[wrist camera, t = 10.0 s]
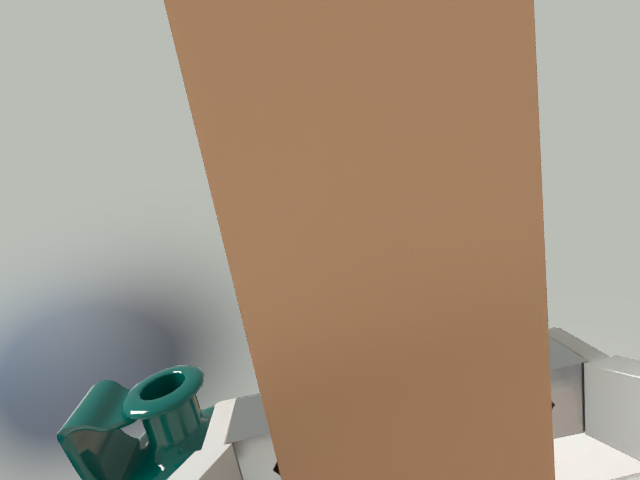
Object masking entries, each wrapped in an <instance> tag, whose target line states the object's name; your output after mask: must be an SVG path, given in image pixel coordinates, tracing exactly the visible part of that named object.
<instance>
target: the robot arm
mask: <svg viewBox="0 0 640 480" xmlns="http://www.w3.org/2000/svg"><path fill="white" fill-rule="evenodd" d="M548 333H549V356H550V378H551V401H552V423H553V439H555V438H560V437H565V436H570V435H574V434H579V433H584V432H585V434H586V435H588V436H590V437H592V438H594V439H596V440H598V441H600V442H602V443H604V444H607V445H609V446H611V447H613V448H615V449H617V450H619V451H621V452H623V453H625V454H627V455H629V456H631V457H633V458H635V459H637V460H639V461H640V361H638V360H634V359H629V358H624V357H620V356H613V357H610V356H608V355H606V354H604V353H602V352H601V351H599V350H597V349H596V348H594V347H592V346H590V345H588V344H587V343H585V342H583V341H581V340H580V339H578V338H576V337H574V336H573V335H571V334H569V333H568V332H566V331H564V330H562V329H560V328H550V329H548ZM167 480H281V476H280V472H279V468H278V463H277V459H276V455H275V451H274V447H273V443H272V439H271V435H270V431H269V427H268V423H267V419H266V415H265V411H264V406H263V402H262V398H261V394H260V393H259V394H254V395H249V396H244V397H239V398H233V399H229V400H225V401H220V402H218V403H217V404H216V405H215V408H214V411H213V415H212V418H211V421H210V424H209V427H208V431H207V434H206V437H205V440H204V443H203V446H202V450H199V451H195V452H194V453H193V454H192V455H191V456H190V457H189V458H188V459H187V460H186V461H185V462H184V463H183V464H182V465H181V466H180V467H179V468H178V469H177V470H176V471H175V472H174V473H173V474H172V475H171V476H170V477H169V478H168V479H167ZM612 480H640V473H636V474H632V475H628V476H624V477H620V478H616V479H612Z"/></svg>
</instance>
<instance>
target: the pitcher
mask: <svg viewBox="0 0 640 480" xmlns="http://www.w3.org/2000/svg"><path fill="white" fill-rule="evenodd" d="M203 381H204V373H203V372H202V371H201V369H200V368H199V367H195V366H191V365H182V366H175V367H171V368H168V369H164V370H162V371H160V372H157V373H155V374H153V375H151V376H149V377H147V378H146V379H144V380H143V381H141V382H140V383H138V384H137V385H136V386H135V387H134V388H133V389H131V390H129V389H126V388H124V387H122V386H121V385H120V384H118V383H116V382H114V381H111V380H104V381H100V382H97V383H95V384H94V385H93V386H92V388H91V389H90V390H89V392H88V393H87V394H86V396H85V397H84V398H83V400H82V401H81V403H80V404H79V405H78V407H77V408H76V409H75V411H74V412H73V413H72V415H71V416H70V417H69V419H68V420H67V421H66V423H65V424H64V425H63V427H62V428H61V430H60V431H59V432H58V433H57V439H58V442H59V443H60V445H61V447H62V448H63V450H64V452H65V453H66V455H67V457H68V458H69V460H70V462H71V463H72V465H73V467H74V468H75V470H76V471H77V473H78V475H79V476H80V478H81V479H82V480H167V479H168V478H169V477H170V476H171V475H172V474H173V473H174V472H175V471H176V470H177V469H178V468H179V467H180V466H181V465H182V464H183V463H184V462H185V461H186V460H187V459H188V458H189V457H190V456H191V455H192V454H193V453H194V452H195V451H199V450H202V446H203V443H204V440H205V437H206V434H207V431H208V427H209V424H210V421H211V418H212V415H213V411H214V408H215V405H213V406H210V407H206V408H203V409H200V406H199V403H198V399H197V396H196V393H197V392H198V390H199V389H200V388H201V386H202V385H203ZM137 420H142V422H143V425H144V428H145V430H146V431H145V432H144V433H143V434H142V435H141V437H140V438H139V439H137V438H133V437H131V436H129V435H127V434H126V433H124V432H123V431H122V430H121V429H120V428H123V427H125V426H128V425H130V424H132V423H134V422H135V421H137Z"/></svg>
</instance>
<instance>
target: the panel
mask: <svg viewBox="0 0 640 480" xmlns="http://www.w3.org/2000/svg"><path fill="white" fill-rule="evenodd" d="M164 3H165V7H166V11H167V15H168V20H169V24H170V28H171V32H172V36H173V40H174V44H175V48H176V52H177V56H178V60H179V64H180V68H181V73H182V76H183V81H184V85H185V88H186V93H187V97H188V101H189V105H190V109H191V113H192V117H193V121H194V125H195V130H196V134H197V137H198V142H199V146H200V150H201V154H202V158H203V162H204V166H205V170H206V174H207V178H208V182H209V186H210V190H211V195H212V199H213V203H214V207H215V211H216V215H217V219H218V223H219V227H220V231H221V235H222V239H223V244H224V247H225V252H226V256H227V260H228V264H229V268H230V272H231V276H232V280H233V284H234V288H235V292H236V296H237V301H238V305H239V309H240V313H241V317H242V321H243V325H244V329H245V333H246V337H247V341H248V345H249V349H250V354H251V357H252V362H253V366H254V370H255V374H256V378H257V382H258V386H259V390H260V394H261V398H262V402H263V406H264V411H265V415H266V419H267V423H268V427H269V431H270V435H271V439H272V443H273V447H274V451H275V455H276V459H277V463H278V468H279V472H280V476H281V480H555V468H554V446H553V423H552V401H551V378H550V356H549V333H548V311H547V288H546V266H545V244H544V221H543V199H542V177H541V154H540V131H539V108H538V86H537V64H536V41H535V18H534V0H164Z"/></svg>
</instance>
